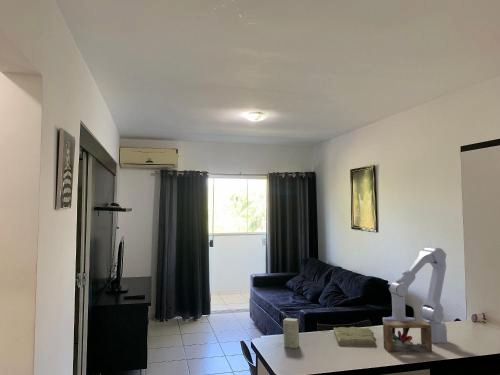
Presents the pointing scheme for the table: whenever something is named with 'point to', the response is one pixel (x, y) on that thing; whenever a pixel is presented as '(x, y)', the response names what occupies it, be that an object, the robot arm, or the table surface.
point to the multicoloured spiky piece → (402, 338)
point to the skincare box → (291, 332)
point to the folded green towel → (354, 336)
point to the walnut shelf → (407, 348)
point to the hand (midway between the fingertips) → (399, 338)
